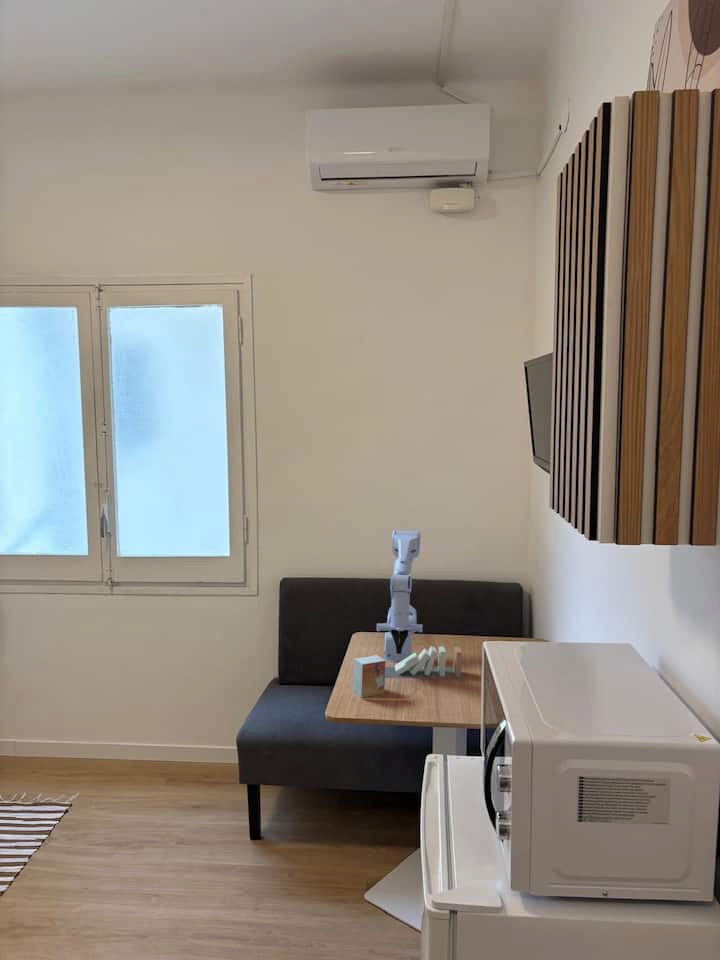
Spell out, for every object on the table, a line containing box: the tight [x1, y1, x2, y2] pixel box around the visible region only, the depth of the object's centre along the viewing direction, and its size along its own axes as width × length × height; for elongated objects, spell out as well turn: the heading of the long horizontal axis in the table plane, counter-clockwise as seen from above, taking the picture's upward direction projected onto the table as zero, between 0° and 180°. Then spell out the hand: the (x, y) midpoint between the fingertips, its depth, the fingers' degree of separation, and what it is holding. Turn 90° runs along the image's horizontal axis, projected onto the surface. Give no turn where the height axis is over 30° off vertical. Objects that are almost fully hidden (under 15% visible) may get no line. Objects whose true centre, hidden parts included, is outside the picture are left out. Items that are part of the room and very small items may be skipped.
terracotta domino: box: [453, 646, 463, 677], centre depth 220 cm, size 2×5×8 cm, turn 2°
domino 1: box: [394, 652, 419, 675], centre depth 220 cm, size 2×5×8 cm
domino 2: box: [409, 648, 430, 675], centre depth 220 cm, size 2×5×8 cm
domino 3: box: [422, 645, 438, 676], centre depth 220 cm, size 2×5×8 cm, turn 1°
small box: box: [352, 654, 386, 699], centre depth 203 cm, size 8×6×10 cm
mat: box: [385, 666, 466, 680], centre depth 220 cm, size 27×9×1 cm, turn 91°
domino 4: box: [437, 646, 447, 676], centre depth 220 cm, size 2×5×8 cm, turn 1°
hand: (398, 652), depth 219 cm, fingers closed
